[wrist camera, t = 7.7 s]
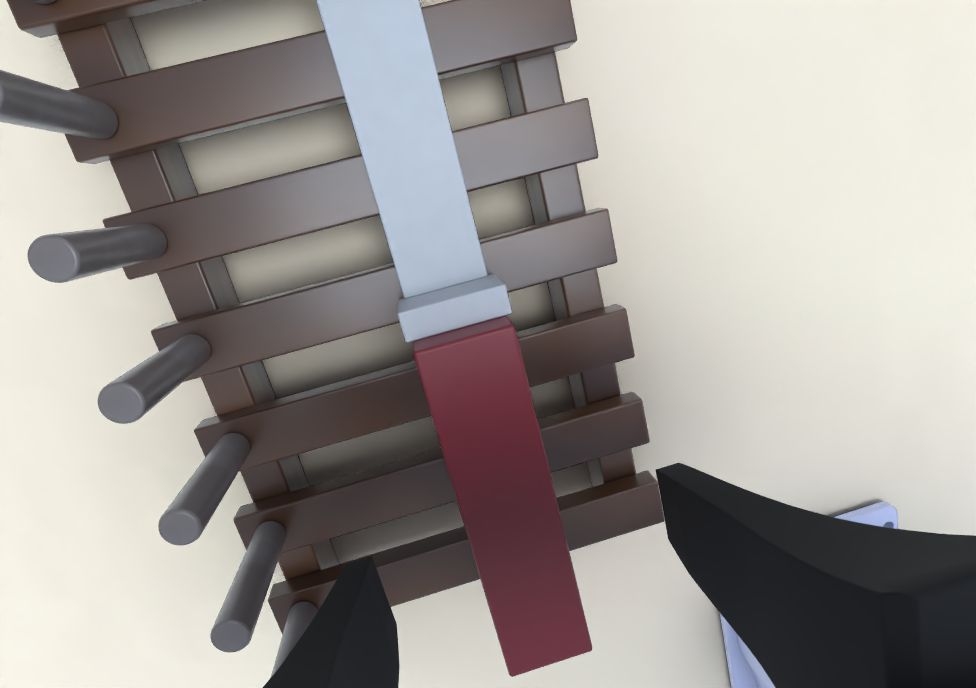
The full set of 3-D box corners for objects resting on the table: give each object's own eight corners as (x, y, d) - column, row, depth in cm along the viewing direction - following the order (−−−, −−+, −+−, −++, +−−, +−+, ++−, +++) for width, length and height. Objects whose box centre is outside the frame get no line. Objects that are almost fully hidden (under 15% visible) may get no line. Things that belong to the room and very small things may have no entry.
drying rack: (633, 485, 22) (736, 615, 15) (301, 587, 21) (253, 774, 14) (516, -116, 16) (596, -336, 9) (54, -14, 15) (-221, -177, 9)
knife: (569, 581, 19) (598, 650, 16) (489, 606, 19) (505, 680, 16) (366, -243, 13) (356, -372, 10) (242, -219, 12) (194, -342, 10)
